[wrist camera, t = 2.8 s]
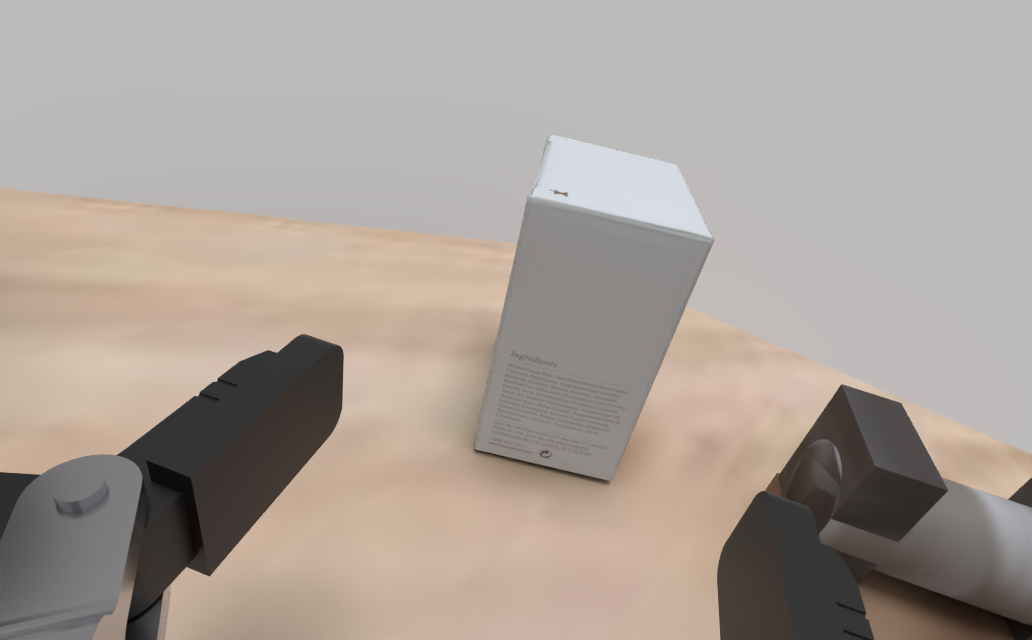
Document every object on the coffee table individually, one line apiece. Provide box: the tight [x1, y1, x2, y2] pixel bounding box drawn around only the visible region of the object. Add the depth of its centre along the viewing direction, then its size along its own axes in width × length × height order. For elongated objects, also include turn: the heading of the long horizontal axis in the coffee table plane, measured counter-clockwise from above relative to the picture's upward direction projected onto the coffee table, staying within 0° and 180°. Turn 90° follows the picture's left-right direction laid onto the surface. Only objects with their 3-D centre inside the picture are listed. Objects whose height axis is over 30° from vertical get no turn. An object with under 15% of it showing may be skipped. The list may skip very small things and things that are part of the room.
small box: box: [474, 135, 714, 480], centre depth 21 cm, size 8×6×10 cm
